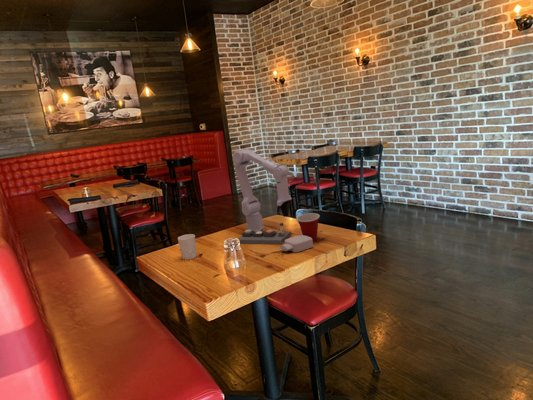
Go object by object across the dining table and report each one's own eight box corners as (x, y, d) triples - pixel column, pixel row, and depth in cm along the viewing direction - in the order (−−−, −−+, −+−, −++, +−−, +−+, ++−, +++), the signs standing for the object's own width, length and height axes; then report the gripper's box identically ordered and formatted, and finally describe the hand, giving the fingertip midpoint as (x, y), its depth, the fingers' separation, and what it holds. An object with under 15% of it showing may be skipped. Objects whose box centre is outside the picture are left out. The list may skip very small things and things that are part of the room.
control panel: (248, 234, 211) (248, 227, 210) (291, 235, 201) (290, 227, 200) (236, 243, 198) (235, 236, 198) (281, 244, 188) (280, 236, 188)
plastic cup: (296, 244, 186) (293, 219, 184) (302, 237, 196) (300, 213, 193) (318, 244, 182) (316, 219, 179) (324, 237, 191) (322, 212, 189)
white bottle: (274, 252, 179) (301, 243, 187) (286, 257, 171) (313, 247, 179) (273, 242, 178) (300, 234, 186) (284, 246, 170) (312, 237, 178)
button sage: (246, 232, 205) (246, 229, 204) (252, 232, 203) (252, 229, 203) (244, 234, 202) (243, 231, 201) (249, 234, 200) (249, 231, 200)
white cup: (201, 254, 189) (197, 234, 187) (192, 260, 182) (189, 239, 180) (186, 254, 192) (183, 234, 190) (177, 260, 184) (174, 239, 182)
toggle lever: (280, 232, 196) (280, 222, 197) (283, 232, 196) (284, 222, 197) (278, 232, 195) (279, 222, 196) (282, 232, 194) (282, 222, 195)
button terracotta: (268, 232, 200) (267, 229, 199) (274, 232, 198) (273, 229, 198) (265, 234, 197) (265, 231, 196) (271, 234, 196) (271, 231, 195)
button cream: (257, 234, 202) (257, 231, 202) (263, 234, 201) (263, 231, 201) (255, 236, 199) (254, 233, 199) (260, 236, 198) (260, 233, 198)
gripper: (285, 192, 191) (288, 220, 194) (295, 186, 204) (298, 212, 207) (271, 193, 194) (274, 220, 197) (282, 187, 207) (285, 212, 209)
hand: (285, 216), depth 202 cm, fingers closed
